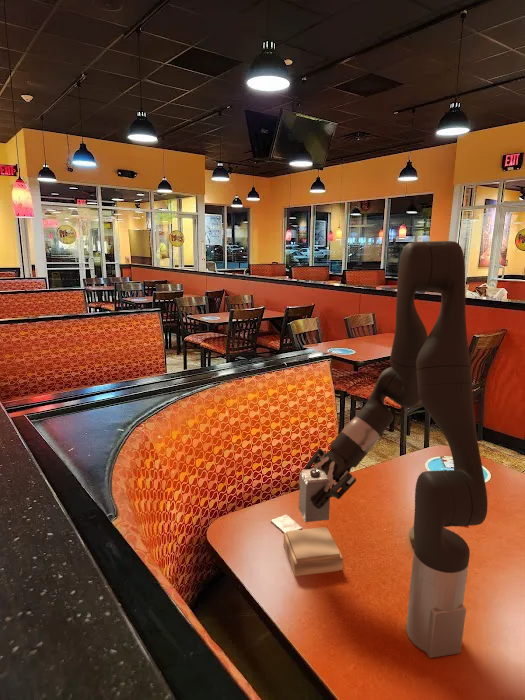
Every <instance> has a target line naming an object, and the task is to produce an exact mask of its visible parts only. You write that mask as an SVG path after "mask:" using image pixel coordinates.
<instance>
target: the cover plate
mask: <svg viewBox="0 0 525 700" xmlns="http://www.w3.org/2000/svg"><path fill="white" fill-rule="evenodd" d="M270 522H271V523H272V525H274V527H276V528H277V529H278V530H280V531H281V533H283V534H284V533H286V531H293V530H301V529H303V527H302V526H301V525H300V524H298V523H297V522H296V521H295V520H294V519H293V518H291V517H290V516H289V515H288V514H284V515H281V516H278V517H276V518H274V519H270Z"/></svg>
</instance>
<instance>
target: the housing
mask: <svg viewBox="0 0 525 700" xmlns="http://www.w3.org/2000/svg"><path fill="white" fill-rule="evenodd" d="M326 477H327V475H326V474H325V472H324V471H323V470H322V469H321V468H318V469H307V470H306V469H301V472H299V484H298V486H299V489H298V495H299V496H298V510H299V512H300V513H301V516H302V518H303V521H304V522H305V523H310V522H312V523H313V522H320V521H329V520H330V506H331V498H330V499H329V500H328V501H327V502H326V503H325V504H324V506H323V507H322V508H320V509H317V508H316V507H315V506H314V505H313V504H312V502H313V501H314V500H315V498H316V497H317V496H318V495H319V494H320V492H321V491H322V490H323V491H324V488H325V485H326V484H327V478H326Z"/></svg>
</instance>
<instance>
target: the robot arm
mask: <svg viewBox="0 0 525 700" xmlns="http://www.w3.org/2000/svg"><path fill="white" fill-rule="evenodd" d="M465 263H466V262H465V255H464V251H463V249H462V246H461V244H459V243H458V242H457V241H452V240H439V241H438V240H437V241H436V240H435V241H431V240H430V241H413V242H408V243H407V244H405V246H404V247H403V248H402V251H401V254H400V258H399V262H398V268H397V269H398V270H397V271H398V272H397V283H396V284H397V286H396V301H395V302H396V308H395V329H394V330H395V331H394V337H393V342H392V346H391V351H390V357H389V364H390V366H389V367H388V368H385V369H384V370H383V371H381V372H380V374H379V376H378V378H377V380H376V382H375V385H374V387H373V389H372V392H371V393H370V395H369V398H368V399H367V400H366V403H365V404H364V405H363V406H362V407H361V409H360V410H359V411H358V413H357V414H355V416H354V417H353V418H352V419H351V420H350V421H349V422H348V423H347V424H346V425H345V426H344V427H343V429H342V430H341V431H340V433H338V435H336V437H335V438H334V439H333V441H332V442H330V446H329V448H330V450H328V451H327V452H325V451H324V450H323V449H322V448H318V449H316V451H315V452H314V454H313V455H312V456H311V458H310V459H309V460H308V462H307V463H306V465H305V466H304V468H305V469H304V470H307V469H318V468H321V469H322V470H323V471H324V472H325V474H326V475H327V477H326V478H327V484H326V485H325V488H324V491H323V490H322V491H321V492H320V494H319V495H318V496H317V497H316V498H315V500H314V501H313V502H312V504H313V505H314V506H315V507H316V508H317V509H320V508H322V507H323V506H324V504H325V503H326V502H327V501H328V500H329V499H330V500H331V498H336V499H337V500H340V499H341V498H342V497H343V495H345V494H346V492H348V491H349V490H350V488H351V487H352V486H353V485H354V484H355V483H357V478H356V477H355V476H354V475H352V474H351V473H350V472H351V469H352V468H356V467H358V466H359V464H360V463H361V462H362V461H363V460H364V458H365V457H366V456H367V455H368V453H369V452H370V451H371V450H372V449H373V447H374V446H375V444H376V443H377V441H378V440H379V438H380V437H381V435H382V434H383V433H384V432H385V431H386V429H388V427H389V426H390V424H392V422H393V420H394V414H393V413H392V411H391V410H390V409H389V408H388V407H387V406H386V405H385V404H384V402H385V400H386V398H388V399H390V400H391V401H393V402H394V403H395V404H396V405H397V404H398V405H399V406H400V407H401V408H404V409H411V408H414V407H416V406H418V404H419V403H420V402H421V403H422V406H423V407H424V409H425V411H426V412H427V413H428V415H429V416H430V417H431V418H432V420H433V422H434V423H435V424H436V425H437V426H438V429H440V431H441V432H442V434H443V436H444V438H445V439H446V442H447V443H448V446H449V448H450V450H449V451H450V452H451V456H452V462H453V470H449V469H448V470H425V471H423V472H421V473H420V474H419V475H418V477H417V478H416V479H417V480H416V483H415V487H414V488H415V489H414V491H415V493H414V515H413V516H414V518H413V526H414V548H413V553H412V564H411V565H412V566H411V572H410V573H411V574H410V584H409V593H408V594H409V595H408V605H407V613H406V614H407V617H406V626H405V629H406V634H407V637H408V638H409V640H410V642H412V644H413V645H414V646H415V647H417V648H418V649H419V650H422V652H424V653H425V654H426V655H427V657H429V658H430V659H432V658H433V659H435V658H440V657H445V656H452V655H456V654H461V652H462V645H463V637H464V630H465V623H466V622H465V621H466V616H467V615H466V613H467V608H466V607H465V606H464V601H465V594H466V593H465V592H466V584H467V580H468V579H467V577H468V570H469V562H470V556H471V555H470V553H471V552H470V551H471V550H470V547H469V545H468V543H467V541H465V539H464V538H463V537H462V536H460V535H459V534H458V533H456V532H455V531H453V530H450V529H447V528H445V527H466V526H467V527H468V526H469V527H470V526H472V527H473V526H478V525H481V524H483V523H484V521H485V520H486V517H487V515H488V503H489V502H488V493H487V486H486V479H485V473H484V470H483V469H484V468H483V463H482V460H481V459H482V458H481V457H482V456H481V453H480V447H479V441H478V435H477V434H478V433H477V427H476V426H477V425H476V417H475V416H476V415H475V408H474V395H473V394H474V393H473V392H474V390H473V380H472V379H473V377H472V369H471V368H472V367H471V359H470V351H469V344H468V343H469V342H468V333H467V331H468V330H467V320H466V319H467V318H466V315H467V313H466V264H465ZM438 291H440V297H441V299H440V300H441V302H440V310H439V313H438V316H437V320H436V321H435V324H434V325H433V328H432V329H431V331H430V333H429V334H428V332H427V328H426V326H425V325H424V322H423V320H422V319H421V317H420V315H419V313H418V311H417V309H416V308H417V307H416V306H415V305H416V304H415V295H416V292H438ZM297 489H298V490H299V485H298V486H297Z"/></svg>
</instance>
